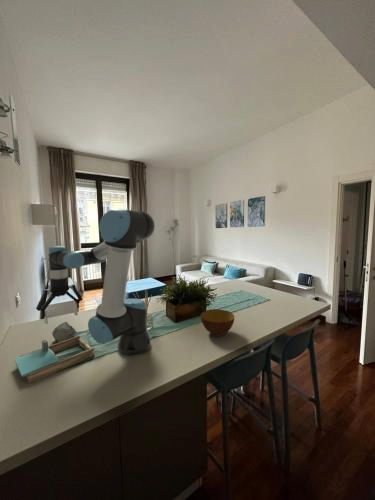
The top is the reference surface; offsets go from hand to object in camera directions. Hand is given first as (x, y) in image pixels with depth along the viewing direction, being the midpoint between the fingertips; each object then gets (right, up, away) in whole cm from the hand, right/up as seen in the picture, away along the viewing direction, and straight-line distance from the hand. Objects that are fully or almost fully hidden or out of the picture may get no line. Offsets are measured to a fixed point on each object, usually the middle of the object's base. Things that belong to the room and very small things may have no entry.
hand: (61, 318), depth 110 cm
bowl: (+79, -10, +7) cm, 80 cm away
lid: (+2, -11, -21) cm, 24 cm away
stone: (0, -12, +1) cm, 12 cm away
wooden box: (+7, -13, -15) cm, 21 cm away
